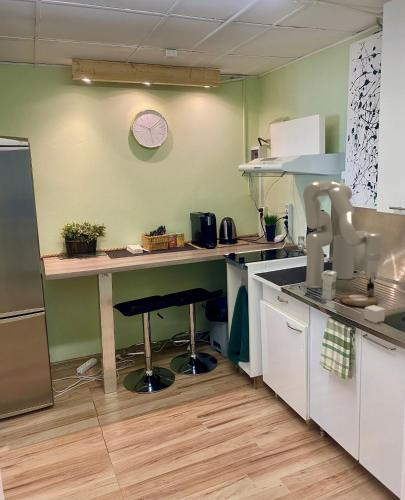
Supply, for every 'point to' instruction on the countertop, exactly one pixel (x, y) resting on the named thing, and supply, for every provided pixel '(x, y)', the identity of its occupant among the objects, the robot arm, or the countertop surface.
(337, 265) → the cylinder vase
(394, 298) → the countertop surface
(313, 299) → the countertop surface
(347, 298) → the turntable
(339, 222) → the robot arm
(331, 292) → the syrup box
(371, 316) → the white cube
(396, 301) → the countertop surface
